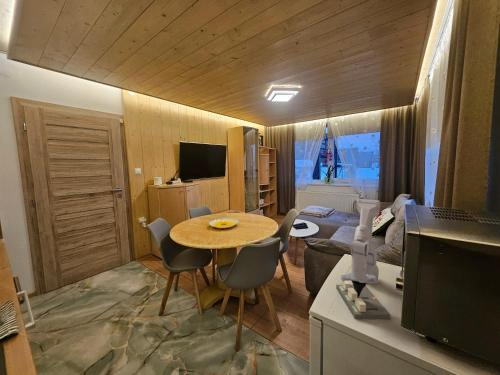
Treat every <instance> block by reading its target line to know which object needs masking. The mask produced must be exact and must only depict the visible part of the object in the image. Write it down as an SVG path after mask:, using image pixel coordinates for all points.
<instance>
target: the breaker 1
mask: <svg viewBox="0 0 500 375" xmlns="http://www.w3.org/2000/svg"><path fill="white" fill-rule="evenodd" d="M341 285H342V286H343V288H344V289H345V290H348V288H350V287H351V285H352V284H351V282H350V281H342V280H341Z"/></svg>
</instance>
